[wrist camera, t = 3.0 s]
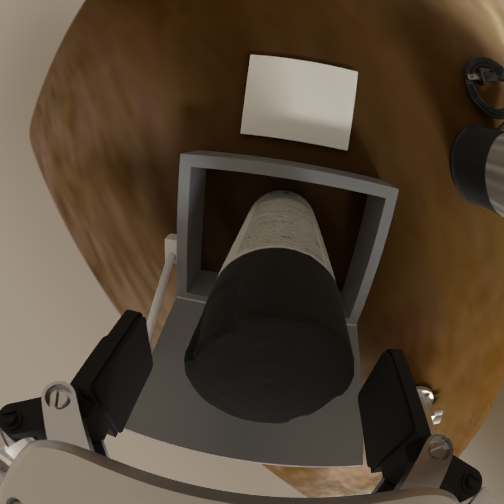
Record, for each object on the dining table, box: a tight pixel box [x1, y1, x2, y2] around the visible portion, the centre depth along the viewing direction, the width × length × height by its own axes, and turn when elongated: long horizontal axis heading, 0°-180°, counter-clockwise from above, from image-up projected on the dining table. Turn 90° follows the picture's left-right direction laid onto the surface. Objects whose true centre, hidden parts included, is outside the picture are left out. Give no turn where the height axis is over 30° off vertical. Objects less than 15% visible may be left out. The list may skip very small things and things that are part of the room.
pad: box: [240, 55, 358, 151], centre depth 22 cm, size 10×8×1 cm
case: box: [125, 150, 399, 467], centre depth 20 cm, size 19×18×19 cm
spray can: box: [184, 190, 354, 424], centre depth 18 cm, size 7×7×20 cm
